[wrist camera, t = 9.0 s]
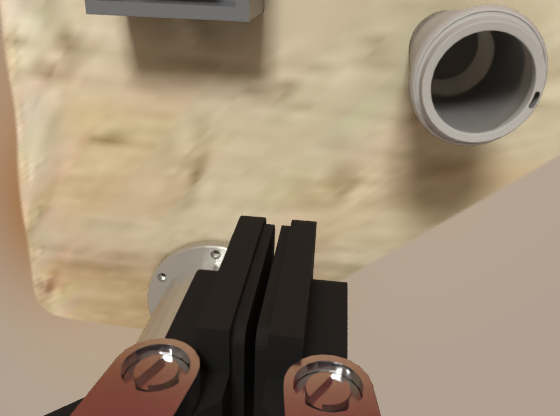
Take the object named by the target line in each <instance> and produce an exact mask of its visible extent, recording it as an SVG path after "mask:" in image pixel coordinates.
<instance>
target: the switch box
mask: <svg viewBox="0 0 560 416" xmlns="http://www.w3.org/2000/svg"><path fill="white" fill-rule="evenodd" d="M85 7H86V14H97V15H118V16H138V17H158V18H179V19H199V20H220V21H240V22H250V21H251V20H253V19H254V18H255V17H257V16H258V15H260V14H261V13H263V12H264V0H85Z"/></svg>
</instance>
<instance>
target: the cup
mask: <svg viewBox="0 0 560 416" xmlns="http://www.w3.org/2000/svg"><path fill="white" fill-rule="evenodd" d="M409 54H410V59H409V60H410V69H411V73H410V82H409V92H410V100H411V104H412V107H413V110H414V112H415V114H416V116H417V118H418V120H419V121H420V123H421V124H422V125H423V126H424V128H425V129H426V130H427V131H429V132H430V133H431V134H432V135H434V136H435V137H437V138H439V139H441V140H443V141H446V142H449V143H452V144H457V145H481V144H485V143H488V142H491V141H494V140H496V139H499V138H501V137H503V136H505V135H506V134H508V133H510V132H512V131H513V130H515V129H516V128H517V127H519V126H520V125H521V124H522V123H523V122H524V121H525V120H526V119H527V118H528V117H529V116H530V115H531V113H532V112H533V111H534V109H535V107H536V106H537V104H538V102H539V100H540V98H541V96H542V93H543V90H544V86H545V82H546V77H547V72H548V57H547V52H546V47H545V43H544V41H543V38H542V36H541V34H540V32H539V30H538V29H537V27H536V26H535V25H534V24H533V23H532V21H531V20H529V19H528V18H527V17H526V16H525V15H523V14H522V13H520V12H518V11H516V10H514V9H512V8H509V7H505V6H500V5H480V6H474V7H471V8H467V9H465V10H462V9H459V10H450V11H441V12H437V13H434V14H432V15H430V16H428V17H427V18H425V19H424V20H423V21H422V22H421V23H420V24H419V25H418V26H417V27H416V29H415V30H414V32H413V34H412V37H411V40H410V45H409Z"/></svg>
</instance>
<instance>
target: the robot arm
mask: <svg viewBox="0 0 560 416" xmlns="http://www.w3.org/2000/svg"><path fill="white" fill-rule="evenodd" d="M316 224H317V222H313V221H301V220H292V222H291V226H283V225H282V227H281V231H280V235H279V239H278V243H277V247H276V251H275V255H274V243H275V225H271V224H266V218H264V217H251V216H240V218H239V221H238V223H237V226H236V228H235V231H234V233H233V236H232V238H231V240H230V243H226V242H218V241H204V242H197V243H192V244H188V245H186V246H183V247H181V248H179V249H176V250H175V251H174V252H172V253H171V254H169V255H168V256H167V257H166V258H165V259H164V260H163V261H162V262H161V263H160V264H159V266H158V267H157V269H156V270H155V272H154V274H153V276H152V278H151V281H150V283H149V288H148V295H147V298H148V308H149V311H150V314H151V317H150V319H149V321H148V323H147V324H146V326H145V328H144V330H143V332H142V334H141V335H140V337H139V339H138V341H137V343H136V344H135V345H133V346H131V347H129V348H127V349H125V350H124V352H122V353H121V354H120V355H119V356H118V357H117V358H116V359H115V360H114V362H113V363H112V364H111V365H110V367H109V368H108V369H107V370H106V372H105V373H104V374H103V375H102V377H101V378H100V379H99V380H98V381H97V383H96V384H95V385H94V387H93V388H92V389H91V390H90V391H89V393H88V394H87V395H86V397H84V398H82V399H80V400H78V401H76V402H73V403H71V404H69V405H67V406H64V407H62V408H60V409H58V410H56V411H53V412H51V413H49V414H47V415H45V416H381V415H380V410H379V406H378V403H377V399H376V395H375V391H374V387H373V384H372V382H371V380H370V378H369V376H368V374H366V372H364V370H363V369H362V368H361V367H360V366H358V365H356V364H355V363H353V362H351V361H350V360H347V282H337V281H326V280H315V279H313V268H314V253H315V239H316ZM216 250H217V251H216ZM218 251H219V252H218Z"/></svg>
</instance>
